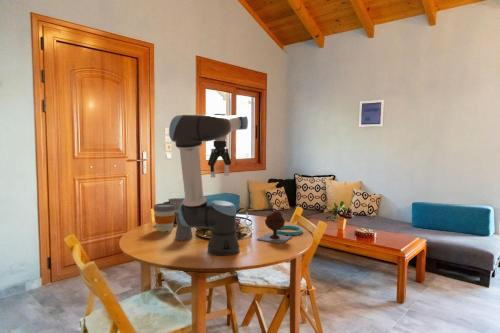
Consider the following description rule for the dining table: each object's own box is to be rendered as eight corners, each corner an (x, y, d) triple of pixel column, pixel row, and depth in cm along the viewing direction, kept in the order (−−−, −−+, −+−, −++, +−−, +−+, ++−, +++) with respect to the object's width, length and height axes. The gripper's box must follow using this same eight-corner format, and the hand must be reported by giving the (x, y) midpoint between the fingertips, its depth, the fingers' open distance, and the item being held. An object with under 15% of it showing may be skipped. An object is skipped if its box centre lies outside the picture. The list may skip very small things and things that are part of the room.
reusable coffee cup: (150, 232, 190) (150, 206, 189) (158, 227, 203) (158, 202, 202) (171, 233, 189) (171, 207, 188) (178, 228, 201) (178, 203, 200)
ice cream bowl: (284, 235, 185) (285, 208, 184) (284, 241, 173) (285, 212, 172) (265, 234, 186) (265, 207, 185) (264, 240, 175) (264, 211, 174)
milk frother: (178, 219, 225) (177, 197, 224) (191, 223, 213) (191, 200, 212) (158, 222, 215) (158, 199, 214) (171, 227, 203) (171, 203, 202)
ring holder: (295, 237, 183) (295, 233, 183) (269, 232, 191) (269, 229, 191) (305, 230, 197) (305, 227, 197) (281, 227, 205) (281, 223, 205)
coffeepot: (181, 242, 171) (181, 208, 170) (168, 239, 176) (168, 206, 175) (201, 236, 184) (201, 203, 183) (188, 233, 189) (188, 202, 188)
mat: (281, 244, 170) (281, 242, 170) (257, 240, 177) (257, 238, 177) (292, 237, 182) (292, 236, 182) (269, 234, 189) (269, 232, 189)
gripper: (226, 140, 208) (226, 174, 210) (201, 140, 187) (201, 177, 188) (236, 140, 205) (236, 175, 206) (212, 140, 183) (212, 178, 184)
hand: (219, 176), depth 197 cm, fingers open, 13 cm apart
